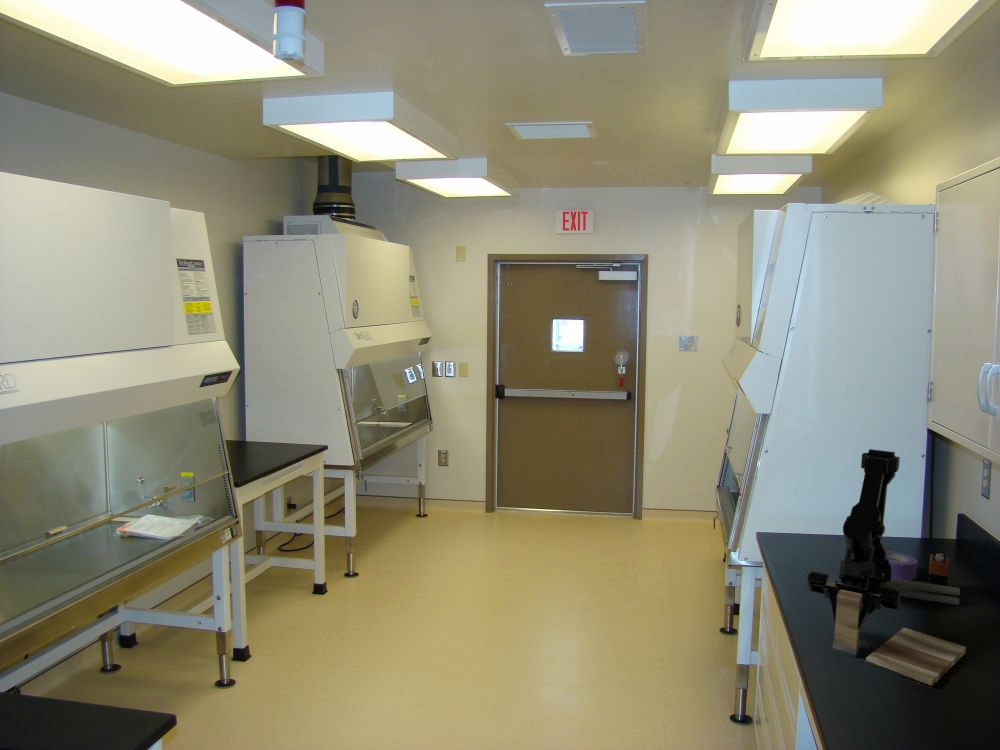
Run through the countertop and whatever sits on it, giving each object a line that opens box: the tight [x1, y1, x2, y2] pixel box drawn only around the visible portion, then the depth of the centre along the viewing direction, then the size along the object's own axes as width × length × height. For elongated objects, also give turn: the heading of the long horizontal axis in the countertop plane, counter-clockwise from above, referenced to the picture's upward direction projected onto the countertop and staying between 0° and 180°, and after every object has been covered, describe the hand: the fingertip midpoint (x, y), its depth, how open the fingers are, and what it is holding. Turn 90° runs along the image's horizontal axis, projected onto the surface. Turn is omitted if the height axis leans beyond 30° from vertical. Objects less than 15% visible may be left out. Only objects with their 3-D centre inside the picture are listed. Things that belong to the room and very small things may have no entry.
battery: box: [926, 552, 950, 596], centre depth 203 cm, size 4×7×10 cm, turn 149°
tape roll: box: [883, 550, 918, 581], centre depth 216 cm, size 12×12×5 cm
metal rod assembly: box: [882, 577, 961, 606], centre depth 199 cm, size 26×3×5 cm, turn 67°
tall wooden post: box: [832, 590, 863, 655], centre depth 168 cm, size 5×5×13 cm
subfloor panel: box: [865, 627, 967, 686], centre depth 166 cm, size 22×13×2 cm, turn 133°
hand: (846, 624), depth 167 cm, fingers closed on tall wooden post, 4 cm apart
